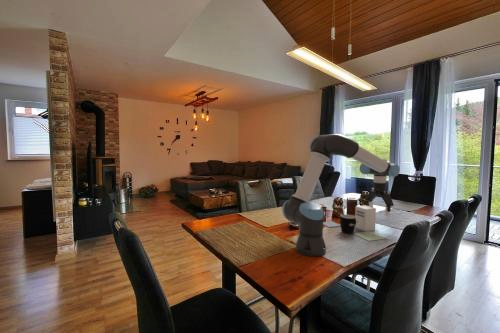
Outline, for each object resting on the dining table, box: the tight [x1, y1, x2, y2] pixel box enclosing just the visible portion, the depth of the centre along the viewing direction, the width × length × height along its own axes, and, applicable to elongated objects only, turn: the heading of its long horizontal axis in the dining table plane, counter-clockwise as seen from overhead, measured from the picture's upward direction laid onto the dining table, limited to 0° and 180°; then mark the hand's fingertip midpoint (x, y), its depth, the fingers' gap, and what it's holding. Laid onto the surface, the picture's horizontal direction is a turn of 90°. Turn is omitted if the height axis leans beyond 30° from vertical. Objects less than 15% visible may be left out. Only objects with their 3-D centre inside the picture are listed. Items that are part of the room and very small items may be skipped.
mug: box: [339, 214, 356, 235], centre depth 148 cm, size 12×9×10 cm
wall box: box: [354, 205, 377, 232], centre depth 155 cm, size 9×9×14 cm
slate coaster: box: [323, 220, 341, 228], centre depth 163 cm, size 10×10×1 cm
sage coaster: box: [353, 231, 386, 242], centre depth 140 cm, size 12×12×1 cm
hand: (378, 213), depth 158 cm, fingers open, 13 cm apart
